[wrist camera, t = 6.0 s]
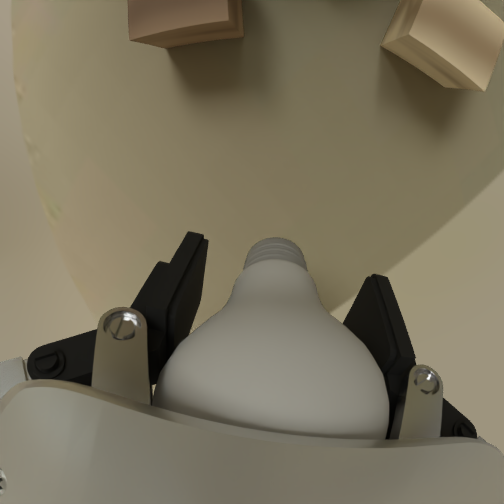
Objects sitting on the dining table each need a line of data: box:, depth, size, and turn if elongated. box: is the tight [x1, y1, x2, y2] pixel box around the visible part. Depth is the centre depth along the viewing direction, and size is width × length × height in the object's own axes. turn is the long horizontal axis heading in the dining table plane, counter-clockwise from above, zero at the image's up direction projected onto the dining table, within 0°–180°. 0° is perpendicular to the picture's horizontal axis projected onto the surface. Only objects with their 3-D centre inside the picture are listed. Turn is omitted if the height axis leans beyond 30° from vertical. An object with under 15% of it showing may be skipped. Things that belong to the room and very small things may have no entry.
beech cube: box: [380, 0, 504, 92], centre depth 11 cm, size 5×5×5 cm
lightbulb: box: [152, 237, 389, 440], centre depth 9 cm, size 6×6×11 cm
